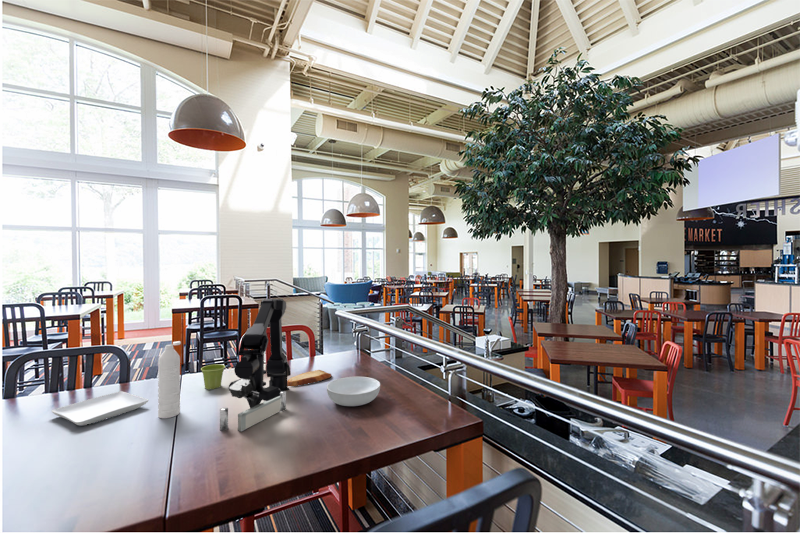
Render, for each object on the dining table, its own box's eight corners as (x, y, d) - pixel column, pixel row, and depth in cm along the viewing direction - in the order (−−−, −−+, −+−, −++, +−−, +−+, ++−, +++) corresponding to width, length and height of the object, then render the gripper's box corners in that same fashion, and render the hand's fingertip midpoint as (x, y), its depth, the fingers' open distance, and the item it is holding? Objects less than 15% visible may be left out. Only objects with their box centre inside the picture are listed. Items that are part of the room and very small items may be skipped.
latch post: (226, 426, 115) (226, 406, 115) (229, 428, 113) (229, 408, 113) (218, 428, 113) (218, 409, 113) (221, 431, 111) (221, 411, 111)
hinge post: (283, 407, 130) (283, 390, 130) (287, 409, 128) (287, 392, 128) (277, 409, 128) (277, 392, 128) (281, 411, 126) (281, 393, 126)
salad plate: (49, 419, 121) (49, 409, 121) (121, 398, 140) (121, 389, 140) (77, 432, 111) (77, 422, 111) (150, 408, 130) (150, 399, 130)
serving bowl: (383, 393, 145) (383, 376, 145) (375, 414, 124) (375, 395, 124) (335, 391, 147) (335, 374, 147) (319, 412, 126) (319, 393, 126)
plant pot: (227, 382, 157) (227, 363, 157) (222, 389, 148) (222, 369, 148) (204, 384, 155) (204, 365, 155) (197, 391, 146) (197, 371, 146)
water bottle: (172, 418, 120) (172, 346, 120) (153, 418, 120) (153, 346, 120) (187, 408, 129) (187, 341, 129) (170, 408, 129) (170, 341, 129)
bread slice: (283, 387, 152) (283, 379, 152) (297, 374, 170) (297, 367, 170) (323, 388, 151) (323, 380, 151) (333, 375, 169) (333, 367, 169)
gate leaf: (277, 410, 127) (277, 395, 127) (280, 411, 126) (280, 396, 126) (237, 430, 111) (237, 414, 111) (241, 431, 111) (241, 414, 111)
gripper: (215, 370, 116) (214, 417, 116) (255, 380, 108) (254, 430, 108) (243, 362, 126) (242, 404, 126) (281, 370, 118) (280, 416, 118)
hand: (253, 413), depth 119 cm, fingers closed
